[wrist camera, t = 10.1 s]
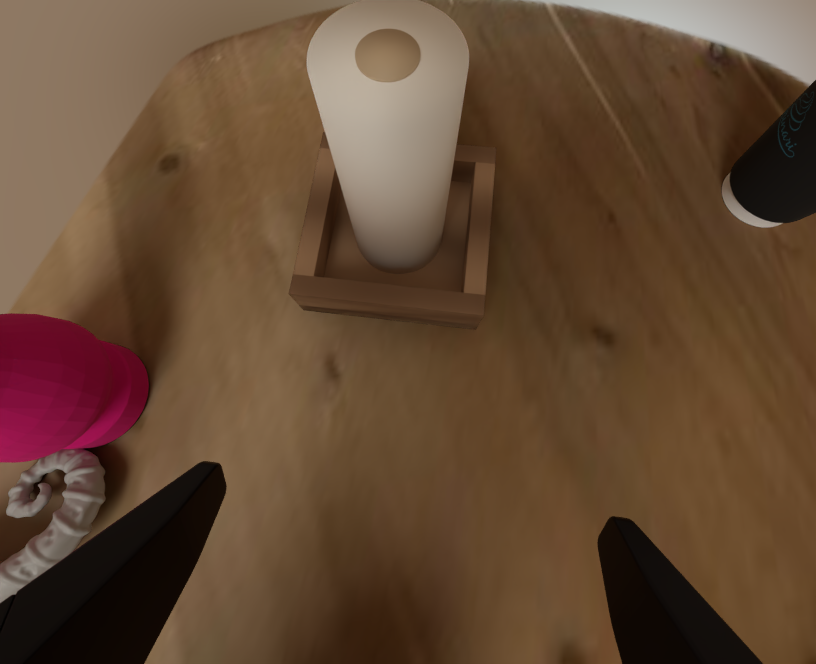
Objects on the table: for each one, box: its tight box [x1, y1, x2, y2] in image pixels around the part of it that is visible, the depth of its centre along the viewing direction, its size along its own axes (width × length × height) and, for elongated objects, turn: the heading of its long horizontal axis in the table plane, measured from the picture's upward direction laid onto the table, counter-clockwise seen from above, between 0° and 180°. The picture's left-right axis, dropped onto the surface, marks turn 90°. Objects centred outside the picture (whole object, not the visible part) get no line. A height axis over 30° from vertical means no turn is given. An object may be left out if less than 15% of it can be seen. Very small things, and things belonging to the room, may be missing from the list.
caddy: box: [289, 132, 496, 329], centre depth 24 cm, size 11×11×3 cm
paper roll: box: [307, 0, 469, 274], centre depth 19 cm, size 6×6×12 cm
